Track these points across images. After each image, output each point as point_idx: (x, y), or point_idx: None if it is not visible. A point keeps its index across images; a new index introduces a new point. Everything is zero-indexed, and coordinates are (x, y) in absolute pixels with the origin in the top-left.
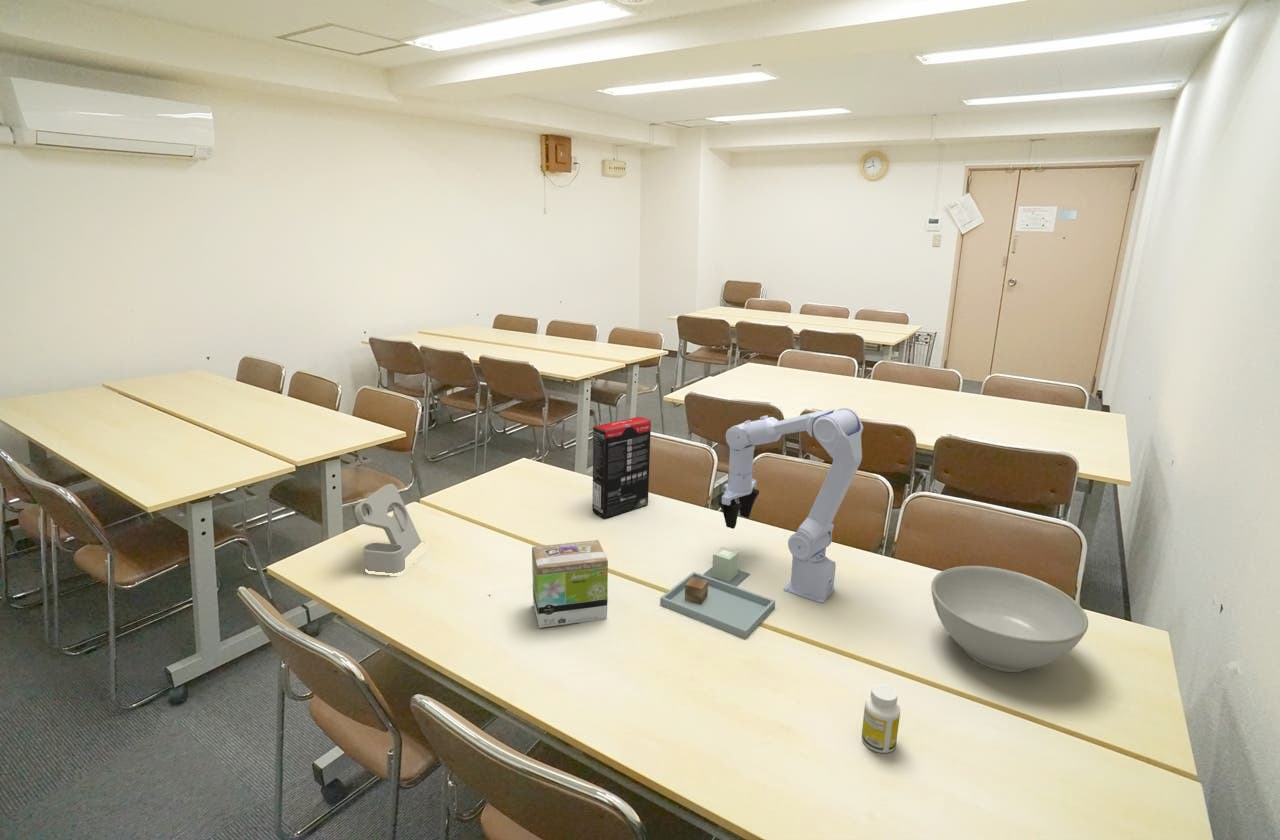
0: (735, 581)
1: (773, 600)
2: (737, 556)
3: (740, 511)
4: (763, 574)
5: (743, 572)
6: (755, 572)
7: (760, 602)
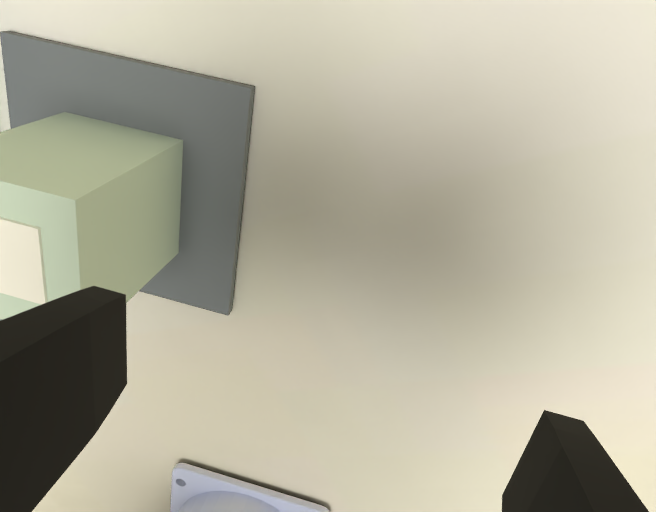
0: None
1: None
2: None
3: (563, 464)
4: (277, 371)
5: (217, 280)
6: (276, 332)
7: None
